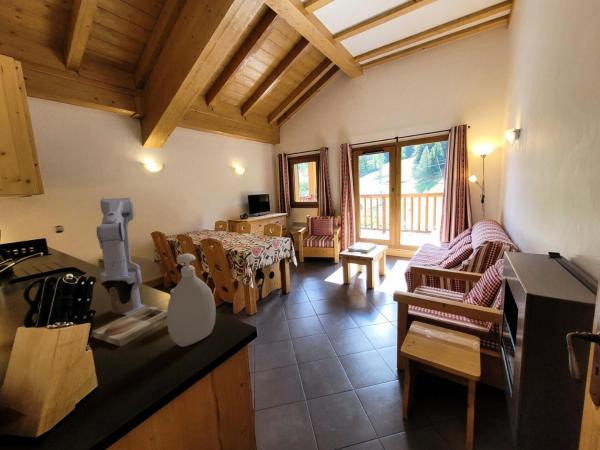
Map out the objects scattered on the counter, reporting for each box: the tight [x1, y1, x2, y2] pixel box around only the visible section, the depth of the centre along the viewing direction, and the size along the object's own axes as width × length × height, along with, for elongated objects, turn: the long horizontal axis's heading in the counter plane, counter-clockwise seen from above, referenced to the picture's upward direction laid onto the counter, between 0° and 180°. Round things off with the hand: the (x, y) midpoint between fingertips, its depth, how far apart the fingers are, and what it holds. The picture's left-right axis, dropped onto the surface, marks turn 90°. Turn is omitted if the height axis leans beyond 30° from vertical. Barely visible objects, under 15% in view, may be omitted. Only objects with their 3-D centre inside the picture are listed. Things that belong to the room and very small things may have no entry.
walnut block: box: [109, 287, 133, 315], centre depth 82 cm, size 4×4×8 cm
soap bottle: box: [166, 252, 217, 348], centre depth 76 cm, size 14×8×27 cm, turn 138°
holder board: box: [91, 305, 168, 347], centre depth 87 cm, size 14×19×2 cm
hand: (121, 301), depth 82 cm, fingers closed on walnut block, 4 cm apart
